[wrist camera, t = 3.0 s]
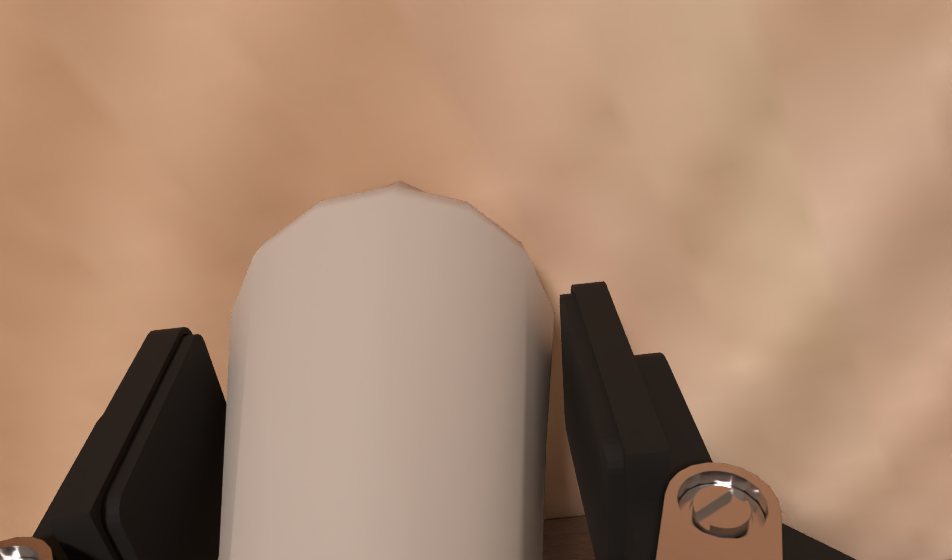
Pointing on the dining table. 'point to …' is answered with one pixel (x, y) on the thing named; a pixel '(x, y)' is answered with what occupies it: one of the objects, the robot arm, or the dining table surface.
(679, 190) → the dining table surface
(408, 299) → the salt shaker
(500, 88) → the dining table surface
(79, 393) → the dining table surface
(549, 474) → the dining table surface
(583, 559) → the lower end link
